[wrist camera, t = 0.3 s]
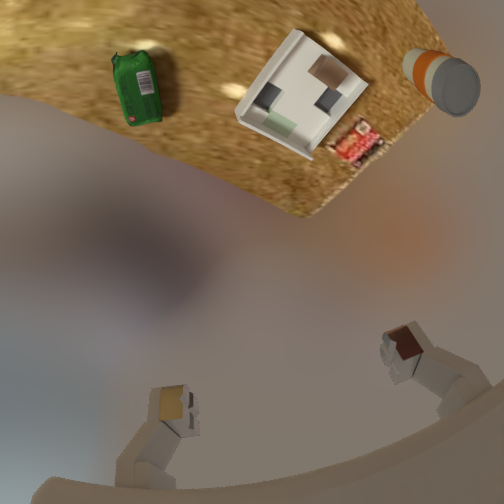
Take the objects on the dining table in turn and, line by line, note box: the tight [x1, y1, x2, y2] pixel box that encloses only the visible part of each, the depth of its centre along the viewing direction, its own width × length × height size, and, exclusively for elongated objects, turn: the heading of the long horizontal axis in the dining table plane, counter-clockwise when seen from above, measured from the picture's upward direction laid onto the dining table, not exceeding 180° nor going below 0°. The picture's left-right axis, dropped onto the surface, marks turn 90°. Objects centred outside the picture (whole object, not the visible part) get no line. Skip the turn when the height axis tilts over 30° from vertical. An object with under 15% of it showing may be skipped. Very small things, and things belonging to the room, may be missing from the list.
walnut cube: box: [307, 54, 349, 91], centre depth 44 cm, size 4×4×4 cm
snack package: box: [111, 50, 162, 127], centre depth 43 cm, size 7×16×5 cm, turn 3°
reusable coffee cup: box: [403, 48, 480, 117], centre depth 42 cm, size 13×13×15 cm
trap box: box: [234, 29, 369, 161], centre depth 49 cm, size 20×17×6 cm
